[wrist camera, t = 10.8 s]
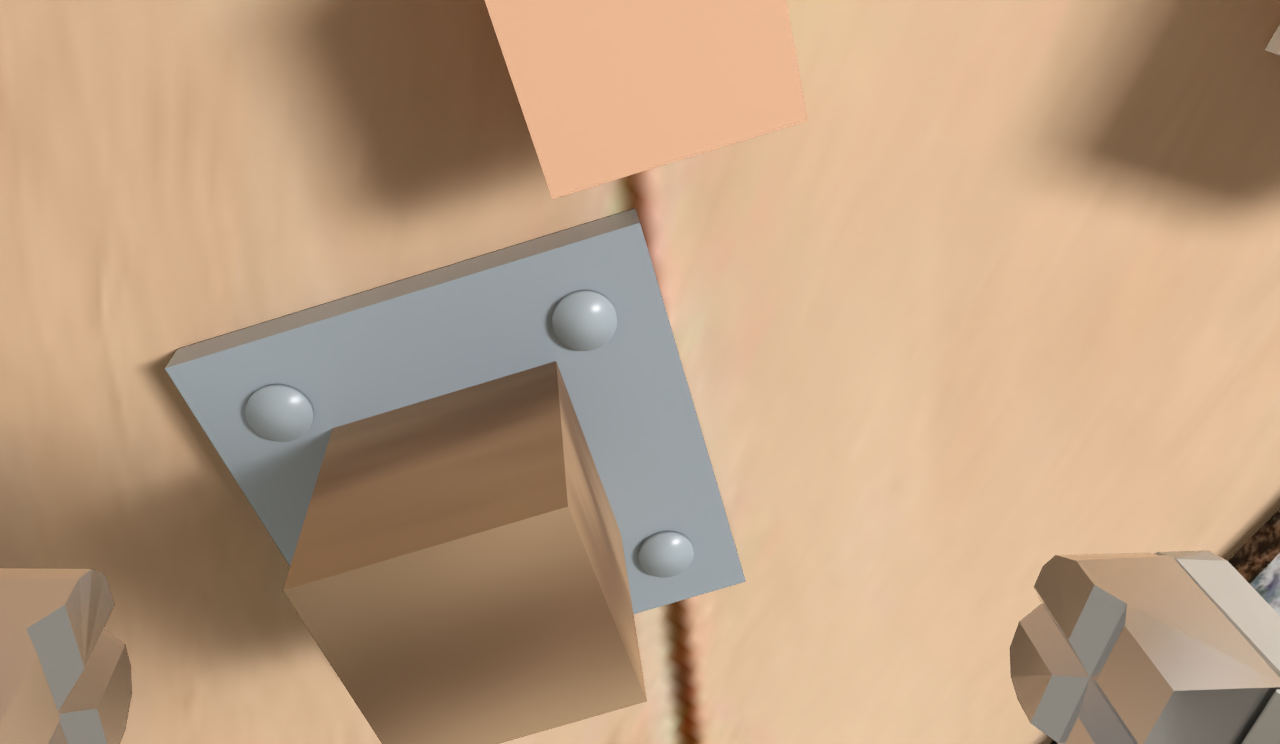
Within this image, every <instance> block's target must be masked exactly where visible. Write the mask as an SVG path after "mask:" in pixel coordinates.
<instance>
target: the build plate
mask: <svg viewBox="0 0 1280 744" xmlns="http://www.w3.org/2000/svg"><path fill="white" fill-rule="evenodd" d="M554 361H556V362H557V364H558V367H559V370H560V372H561V375H562V378H563V380H564V383H565V386H566V388H567V391H568V394H569V396H570V399H571V402H572V404H573V407H574V410H575V412H576V415H577V418H578V420H579V423H580V426H581V429H582V431H583V434H584V437H585V439H586V442H587V445H588V447H589V450H590V453H591V455H592V458H593V461H594V463H595V466H596V469H597V471H598V474H599V477H600V479H601V482H602V485H603V487H604V490H605V493H606V495H607V498H608V501H609V503H610V506H611V509H612V511H613V514H614V517H615V519H616V522H617V525H618V527H619V530H620V533H621V537H622V543H623V550H624V556H625V563H626V569H627V576H628V582H629V589H630V595H631V602H632V608H633V614H636V613H639V612H643V611H646V610H649V609H653V608H656V607H660V606H663V605H667V604H670V603H673V602H677V601H680V600H684V599H687V598H691V597H694V596H698V595H701V594H704V593H708V592H711V591H715V590H718V589H722V588H725V587H728V586H732V585H735V584H739V583H742V582H746V581H745V577H744V574H743V570H742V567H741V564H740V560H739V557H738V553H737V550H736V547H735V543H734V540H733V537H732V533H731V530H730V526H729V523H728V520H727V516H726V513H725V509H724V506H723V503H722V499H721V496H720V492H719V489H718V486H717V482H716V479H715V475H714V472H713V469H712V465H711V462H710V459H709V455H708V452H707V448H706V445H705V442H704V438H703V435H702V431H701V428H700V425H699V421H698V418H697V414H696V411H695V408H694V404H693V401H692V397H691V394H690V391H689V387H688V384H687V381H686V377H685V374H684V370H683V367H682V364H681V360H680V357H679V353H678V350H677V347H676V343H675V340H674V336H673V333H672V330H671V326H670V323H669V319H668V316H667V313H666V309H665V306H664V303H663V299H662V296H661V292H660V289H659V286H658V282H657V279H656V275H655V272H654V269H653V265H652V262H651V258H650V255H649V252H648V248H647V245H646V241H645V238H644V235H643V231H642V228H641V225H640V221H639V218H638V215H637V212H636V209H631V210H628V211H625V212H622V213H618V214H615V215H612V216H609V217H605V218H602V219H599V220H596V221H592V222H589V223H586V224H583V225H579V226H576V227H573V228H570V229H566V230H563V231H560V232H557V233H553V234H550V235H547V236H544V237H540V238H537V239H534V240H531V241H527V242H524V243H521V244H518V245H514V246H511V247H508V248H505V249H501V250H498V251H495V252H492V253H488V254H485V255H482V256H479V257H475V258H472V259H469V260H465V261H462V262H459V263H456V264H452V265H449V266H446V267H443V268H439V269H436V270H433V271H430V272H426V273H423V274H420V275H417V276H413V277H410V278H407V279H404V280H400V281H397V282H394V283H391V284H387V285H384V286H381V287H378V288H374V289H371V290H368V291H365V292H361V293H358V294H355V295H352V296H348V297H345V298H342V299H339V300H335V301H332V302H329V303H326V304H322V305H319V306H316V307H313V308H309V309H306V310H303V311H300V312H296V313H293V314H290V315H287V316H283V317H280V318H277V319H274V320H270V321H267V322H264V323H261V324H257V325H254V326H251V327H248V328H244V329H241V330H238V331H235V332H231V333H228V334H225V335H222V336H218V337H215V338H212V339H208V340H205V341H202V342H199V343H195V344H192V345H189V346H186V347H182V348H179V349H177V351H176V352H175V354H174V355H173V357H172V358H171V360H170V361H169V363H168V364H167V366H166V367H165V370H166V371H167V373H168V374H169V376H170V378H171V379H172V381H173V382H174V384H175V386H176V387H177V389H178V390H179V392H180V393H181V395H182V397H183V398H184V400H185V401H186V403H187V404H188V406H189V408H190V409H191V411H192V412H193V414H194V416H195V417H196V419H197V420H198V422H199V423H200V425H201V427H202V428H203V430H204V431H205V433H206V434H207V436H208V438H209V439H210V441H211V442H212V444H213V445H214V447H215V449H216V450H217V452H218V453H219V455H220V457H221V458H222V460H223V461H224V463H225V464H226V466H227V468H228V469H229V471H230V472H231V474H232V475H233V477H234V479H235V480H236V482H237V483H238V485H239V487H240V488H241V490H242V491H243V493H244V494H245V496H246V498H247V499H248V501H249V502H250V504H251V505H252V507H253V509H254V510H255V512H256V513H257V515H258V517H259V518H260V520H261V521H262V523H263V524H264V526H265V528H266V529H267V531H268V532H269V534H270V535H271V537H272V539H273V540H274V542H275V543H276V545H277V546H278V548H279V550H280V551H281V553H282V554H283V556H284V558H285V559H286V561H287V562H288V564H289V565H290V566H291V562H292V559H293V556H294V553H295V549H296V546H297V543H298V540H299V536H300V533H301V530H302V526H303V523H304V520H305V517H306V513H307V510H308V507H309V504H310V500H311V497H312V494H313V491H314V487H315V484H316V481H317V478H318V474H319V471H320V468H321V465H322V461H323V458H324V455H325V452H326V448H327V445H328V442H329V438H330V435H331V432H332V429H333V428H335V427H338V426H342V425H345V424H348V423H352V422H355V421H358V420H362V419H365V418H368V417H372V416H375V415H378V414H382V413H385V412H388V411H392V410H395V409H398V408H401V407H405V406H408V405H411V404H415V403H418V402H421V401H425V400H428V399H431V398H435V397H438V396H441V395H445V394H448V393H451V392H455V391H458V390H461V389H465V388H468V387H471V386H475V385H478V384H481V383H485V382H488V381H491V380H494V379H498V378H501V377H504V376H508V375H511V374H514V373H518V372H521V371H524V370H528V369H531V368H534V367H538V366H541V365H544V364H548V363H551V362H554Z"/></svg>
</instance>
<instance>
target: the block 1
mask: <svg viewBox="0 0 1280 744" xmlns="http://www.w3.org/2000/svg"><path fill="white" fill-rule="evenodd" d="M283 592H284V593H285V595H286V596H287V598H288V600H289V601H290V603H291V604H292V606H293V607H294V609H295V610H296V612H297V613H298V615H299V616H300V618H301V620H302V621H303V623H304V624H305V626H306V627H307V629H308V630H309V632H310V633H311V635H312V636H313V638H314V640H315V641H316V643H317V644H318V646H319V647H320V649H321V650H322V652H323V653H324V655H325V657H326V658H327V660H328V661H329V663H330V664H331V666H332V667H333V669H334V670H335V672H336V673H337V675H338V677H339V678H340V680H341V681H342V683H343V684H344V686H345V687H346V689H347V690H348V692H349V693H350V695H351V697H352V698H353V700H354V701H355V703H356V704H357V706H358V707H359V709H360V710H361V712H362V714H363V715H364V717H365V718H366V720H367V721H368V723H369V724H370V726H371V727H372V729H373V730H374V732H375V734H376V735H377V737H378V738H379V740H380V741H381V743H382V744H499V743H503V742H506V741H510V740H513V739H517V738H520V737H524V736H527V735H531V734H534V733H538V732H541V731H545V730H548V729H552V728H555V727H559V726H562V725H566V724H569V723H573V722H576V721H580V720H583V719H587V718H590V717H594V716H597V715H601V714H604V713H607V712H611V711H614V710H618V709H621V708H625V707H628V706H632V705H635V704H639V703H642V702H646V701H647V699H646V693H645V686H644V680H643V673H642V667H641V660H640V654H639V647H638V641H637V634H636V628H635V621H634V615H633V608H632V602H631V595H630V589H629V582H628V576H627V569H626V563H625V556H624V550H623V543H622V537H621V533H620V530H619V527H618V525H617V522H616V519H615V517H614V514H613V511H612V509H611V506H610V503H609V501H608V498H607V495H606V493H605V490H604V487H603V485H602V482H601V479H600V477H599V474H598V471H597V469H596V466H595V463H594V461H593V458H592V455H591V453H590V450H589V447H588V445H587V442H586V439H585V437H584V434H583V431H582V429H581V426H580V423H579V420H578V418H577V415H576V412H575V410H574V407H573V404H572V402H571V399H570V396H569V394H568V391H567V388H566V386H565V383H564V380H563V378H562V375H561V372H560V370H559V367H558V364H557V362H556V361H554V362H551V363H548V364H544V365H541V366H538V367H534V368H531V369H528V370H524V371H521V372H518V373H514V374H511V375H508V376H504V377H501V378H498V379H494V380H491V381H488V382H485V383H481V384H478V385H475V386H471V387H468V388H465V389H461V390H458V391H455V392H451V393H448V394H445V395H441V396H438V397H435V398H431V399H428V400H425V401H421V402H418V403H415V404H411V405H408V406H405V407H401V408H398V409H395V410H392V411H388V412H385V413H382V414H378V415H375V416H372V417H368V418H365V419H362V420H358V421H355V422H352V423H348V424H345V425H342V426H338V427H335V428H333V429H332V432H331V435H330V438H329V442H328V445H327V448H326V452H325V455H324V458H323V461H322V465H321V468H320V471H319V474H318V478H317V481H316V484H315V487H314V491H313V494H312V497H311V500H310V504H309V507H308V510H307V513H306V517H305V520H304V523H303V526H302V530H301V533H300V536H299V540H298V543H297V546H296V549H295V553H294V556H293V559H292V562H291V566H290V569H289V572H288V575H287V579H286V582H285V585H284V588H283Z"/></svg>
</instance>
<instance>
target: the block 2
mask: <svg viewBox="0 0 1280 744" xmlns="http://www.w3.org/2000/svg"><path fill="white" fill-rule="evenodd" d="M485 3H486V6H487V9H488V12H489V15H490V18H491V21H492V24H493V27H494V30H495V33H496V36H497V38H498V41H499V44H500V47H501V50H502V53H503V56H504V59H505V62H506V65H507V68H508V71H509V74H510V77H511V80H512V82H513V85H514V88H515V91H516V94H517V97H518V100H519V103H520V106H521V109H522V112H523V115H524V118H525V121H526V124H527V126H528V129H529V132H530V135H531V138H532V141H533V144H534V147H535V150H536V153H537V156H538V159H539V162H540V165H541V168H542V170H543V173H544V176H545V179H546V182H547V185H548V188H549V191H550V194H551V197H552V199H554V198H558V197H561V196H564V195H567V194H571V193H574V192H577V191H580V190H584V189H587V188H590V187H593V186H597V185H600V184H603V183H606V182H610V181H613V180H616V179H619V178H623V177H626V176H629V175H632V174H636V173H639V172H642V171H645V170H649V169H652V168H655V167H658V166H662V165H665V164H668V163H671V162H675V161H678V160H681V159H684V158H688V157H691V156H694V155H697V154H701V153H704V152H707V151H710V150H714V149H717V148H720V147H723V146H727V145H730V144H733V143H736V142H740V141H743V140H746V139H749V138H753V137H756V136H759V135H762V134H766V133H769V132H772V131H775V130H779V129H782V128H785V127H788V126H792V125H795V124H798V123H801V122H805V121H808V119H807V113H806V108H805V102H804V97H803V91H802V86H801V80H800V75H799V69H798V64H797V58H796V53H795V48H794V42H793V37H792V31H791V26H790V20H789V15H788V9H787V4H786V0H485Z"/></svg>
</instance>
